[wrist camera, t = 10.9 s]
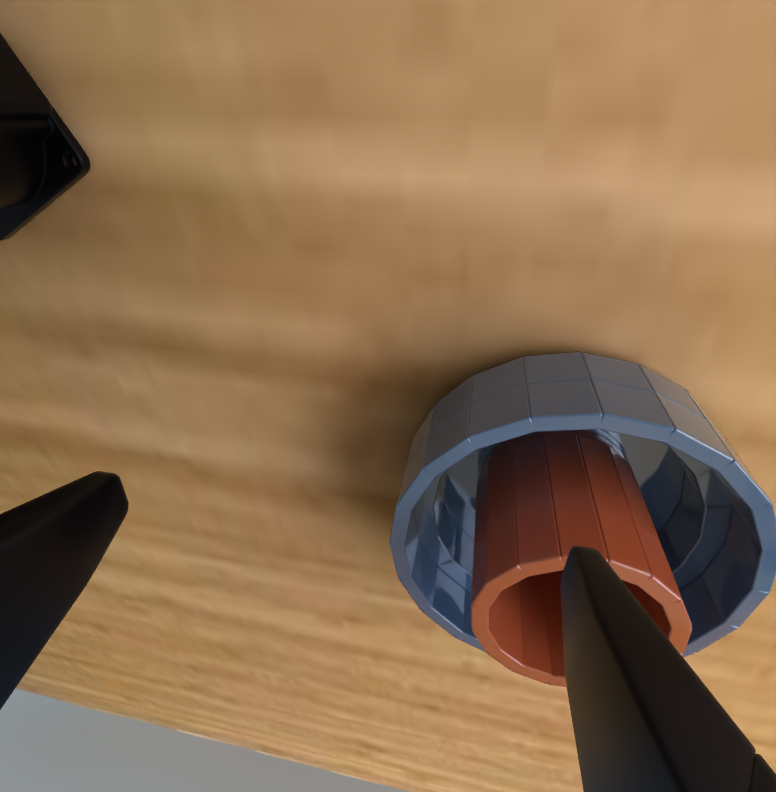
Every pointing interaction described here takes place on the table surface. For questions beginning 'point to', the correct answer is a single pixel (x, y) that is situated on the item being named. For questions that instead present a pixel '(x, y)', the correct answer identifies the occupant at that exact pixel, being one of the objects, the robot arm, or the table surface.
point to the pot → (559, 545)
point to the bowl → (647, 455)
